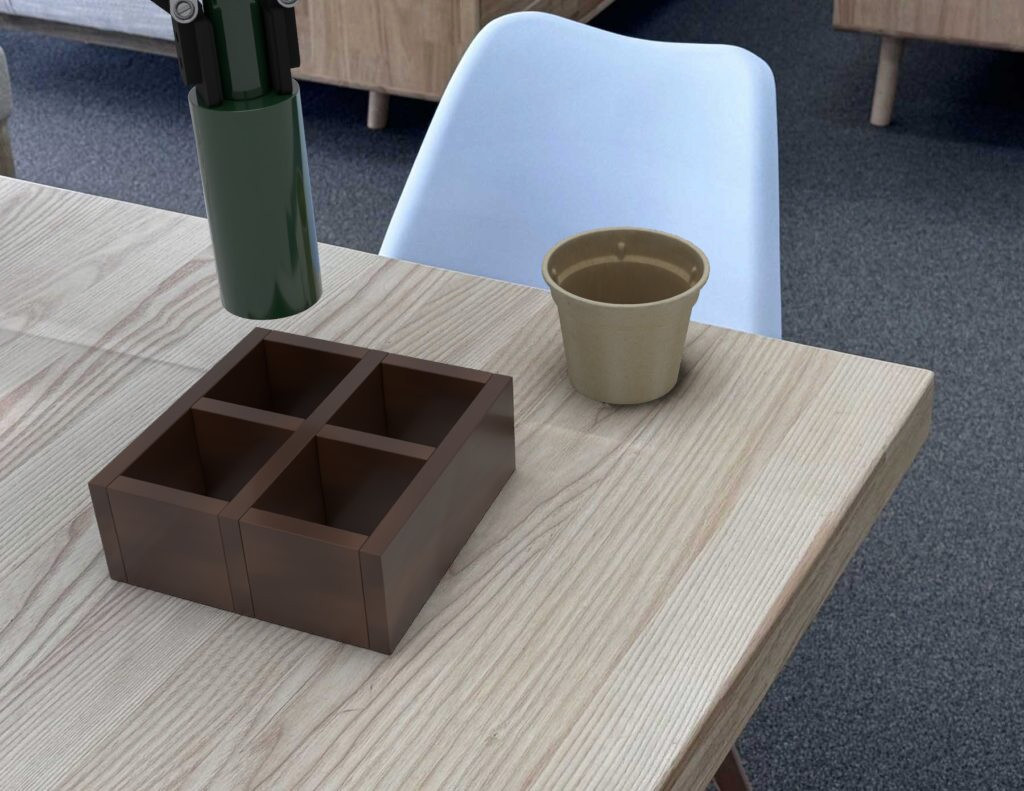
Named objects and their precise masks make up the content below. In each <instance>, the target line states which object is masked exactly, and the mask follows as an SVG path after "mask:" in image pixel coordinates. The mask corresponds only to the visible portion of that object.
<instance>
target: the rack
mask: <svg viewBox="0 0 1024 791" xmlns="http://www.w3.org/2000/svg"><path fill="white" fill-rule="evenodd" d="M515 434H516V433H515V402H514V376H512V375H506V374H502V373H496V372H495V373H494V372H491V371H486V370H481V369H475V368H470V367H465V366H461V365H455V364H450V363H445V362H440V361H435V360H431V359H430V360H429V359H425V358H420V357H414V356H409V355H404V354H399V353H395V352H394V353H393V352H389V351H384V350H381V349H374V348H368V347H363V346H358V345H353V344H348V343H342V342H338V341H332V340H327V339H322V338H317V337H312V336H308V335H302V334H296V333H291V332H286V331H281V330H276V329H271V328H265V327H261V326H255V327H254V328H253V329H252V330H251V331H249V333H247V335H245V336H244V337H243V338H242V339H240V341H239V342H238V343H237V344H235V345H234V346H233V347H232V349H230V350H229V351H228V352H227V353H226V354H224V356H223V357H222V358H221V359H219V361H217V362H216V363H215V364H214V365H213V366H212V367H210V368H209V370H207V371H206V372H205V374H203V375H202V376H201V377H200V378H199V379H198V380H197V381H196V382H195V383H193V384H192V385H191V386H190V387H189V388H188V389H187V390H186V391H184V393H183V394H181V395H180V397H178V398H177V400H175V401H174V402H173V403H172V404H171V405H170V406H169V407H168V408H166V410H164V411H163V412H162V413H161V414H160V415H159V416H157V418H156V419H155V420H154V421H153V422H152V423H150V425H148V426H147V427H146V428H145V429H144V430H143V431H142V432H141V433H140V434H139V435H137V436H136V438H134V439H133V440H132V441H131V442H130V443H129V444H128V445H127V446H126V447H125V448H124V449H122V450H121V451H120V452H119V453H118V454H117V455H116V456H115V457H114V458H113V459H112V460H110V461H109V462H108V463H107V465H105V466H104V467H103V468H102V469H101V470H100V471H99V472H98V473H97V474H95V476H93V477H92V478H91V479H90V480H89V481H88V482H87V488H88V490H89V495H90V499H91V503H92V504H91V505H92V509H93V511H94V512H93V513H94V516H95V521H96V525H97V528H98V532H99V537H100V540H101V545H102V549H103V553H104V558H105V561H106V566H107V570H108V574H109V578H110V579H113V580H115V581H119V582H123V583H128V584H131V585H134V586H137V587H141V588H145V589H147V590H152V591H155V592H159V593H163V594H167V595H171V596H174V597H178V598H181V599H185V600H189V601H193V602H196V603H200V604H202V605H207V606H211V607H214V608H218V609H221V610H225V611H229V612H233V613H235V614H240V615H243V616H247V617H250V618H254V619H255V618H256V619H258V620H262V621H266V622H270V623H273V624H277V625H280V626H284V627H288V628H291V629H295V630H298V631H302V632H305V633H310V634H312V635H317V636H321V637H324V638H328V639H332V640H334V641H339V642H342V643H346V644H350V645H354V646H357V647H361V648H364V649H370V650H372V651H375V652H379V653H383V654H386V655H392V653H393V651H394V650H395V648H396V647H397V645H398V644H399V642H400V641H401V640H402V638H403V636H404V635H405V633H406V632H407V630H408V629H409V628H410V626H411V624H412V623H413V622H414V620H415V619H416V617H417V616H418V614H419V613H420V611H421V610H422V608H423V607H424V605H425V604H426V602H427V600H429V597H430V596H431V595H432V593H433V592H434V590H435V589H436V587H437V586H438V585H439V583H440V581H441V580H442V579H443V577H444V575H445V574H446V572H447V571H448V570H449V568H450V566H451V565H452V563H453V562H454V561H455V559H456V558H457V556H458V554H459V553H460V552H461V550H462V549H463V547H464V545H466V543H467V541H468V540H469V538H470V537H471V535H472V534H473V532H474V530H475V529H476V528H477V527H478V525H479V523H480V522H481V520H482V519H483V517H484V516H485V514H486V513H487V511H488V510H489V508H490V507H491V506H492V504H493V503H494V501H495V499H496V498H497V496H498V495H499V493H500V492H501V490H502V489H503V487H504V486H505V485H506V483H507V481H508V480H509V478H510V477H511V475H512V474H513V473H514V471H515V470H516V467H517V466H516V465H517V463H516V437H515V436H516V435H515Z"/></svg>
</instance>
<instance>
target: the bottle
mask: <svg viewBox="0 0 1024 791" xmlns="http://www.w3.org/2000/svg"><path fill="white" fill-rule="evenodd" d="M201 4H202V7H203V12H204V14H205V15H206V16H207V17H208V18H209V20H210V21H211V23H212V27H213V32H214V39H215V46H216V53H217V60H218V67H219V73H220V80H221V87H222V94H223V102H220V105H218V106H212V107H208V106H207V104H206V103H205V101H204V100H203V98H202V97H201V95H200V94H199V92H198V91H197V89H196V87H195V86H193V87H192V88H191V89H190V91H189V92H188V94H187V101H188V108H189V113H190V120H191V126H192V133H193V138H194V139H193V140H194V144H195V150H196V158H197V162H198V169H199V174H200V180H201V181H200V182H201V187H202V193H203V200H204V206H205V211H206V212H205V213H206V218H207V224H208V230H209V237H210V243H211V248H212V254H213V255H212V256H213V261H214V267H215V273H216V279H217V285H218V291H219V292H218V293H219V299H220V303H221V306H222V307H223V309H225V310H226V312H228V313H229V314H231V315H233V316H235V317H238V318H241V319H245V320H253V321H273V320H280V319H281V320H282V319H285V318H290V317H292V316H296V315H299V314H301V313H303V312H306V311H307V310H309V309H311V308H312V307H313V306H314V305H316V304H317V303H318V302H319V301H320V299H321V298H322V296H323V292H324V288H323V287H324V286H323V279H322V269H321V262H320V253H319V244H318V236H317V235H318V234H317V227H316V226H317V225H316V219H315V218H316V217H315V210H314V201H313V193H312V192H313V191H312V183H311V175H310V165H309V157H308V149H307V141H306V131H305V124H304V123H305V122H304V115H303V106H302V98H301V88H300V85H299V83H298V81H297V80H295V78H293V77H292V85H293V92H292V93H288V94H281V93H280V92H276V91H275V90H274V88H273V87H272V86H271V80H270V72H269V64H268V56H267V49H266V41H265V33H264V25H263V17H262V9H261V1H260V0H201Z"/></svg>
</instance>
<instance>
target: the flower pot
mask: <svg viewBox="0 0 1024 791" xmlns="http://www.w3.org/2000/svg"><path fill="white" fill-rule="evenodd" d="M709 260H710V259H709V258H708V256H707V255H706V253H705V252H704V251H703V250H702V249H701V248H700V247H699V246H698V245H695V244H694V243H693V242H692V241H690V240H688V239H686V238H683V237H681V236H679V235H677V234H673V233H670V232H666V231H663V230H657V229H652V228H646V227H638V226H609V227H600V228H599V227H598V228H594V229H590V230H583V231H581V232H578V233H575V234H572V235H569V236H567V237H565V238H563V239H562V240H560V241H558V242H556V243H555V244H554V245H553V246H552V247H551V248H550V249H549V250H548V251H547V252H546V253H545V254H544V256H543V258H542V261H541V276H542V279H543V281H544V283H545V284H546V285H547V286H548V287H549V290H550V296H551V298H552V300H553V302H554V304H555V305H556V308H557V313H558V319H559V324H560V330H561V331H560V332H561V336H562V343H563V348H564V354H565V362H566V367H567V374H568V375H567V376H568V380H569V383H570V385H571V386H572V387H573V388H574V389H575V390H576V391H577V392H579V393H580V394H581V395H583V396H585V397H587V398H589V399H592V400H595V401H596V402H597V401H598V402H602V403H604V404H605V403H607V404H611V405H636V404H643V403H648V402H652V401H654V400H657V399H659V398H661V397H664V396H666V395H667V394H668V393H669V392H670V391H671V390H673V389H674V387H675V386H676V384H677V382H678V378H679V373H680V367H681V362H682V358H683V354H684V349H685V344H686V338H687V334H688V331H689V325H690V322H691V316H692V312H693V308H694V307H695V305H696V304H697V302H698V300H699V297H700V293H701V290H702V289H703V288H704V287H705V285H706V284H707V283H708V280H709V277H710V273H711V272H710V271H711V265H710V261H709Z"/></svg>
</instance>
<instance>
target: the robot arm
mask: <svg viewBox="0 0 1024 791" xmlns="http://www.w3.org/2000/svg"><path fill="white" fill-rule="evenodd" d="M260 1H261V9H262V17H263V25H264V33H265V41H266V49H267V56H268V64H269V72H270V80H271V86H272V87H273V88H274V90H275V91H276V92H280V93H281V94H288V93H292V92H293V85H292V78H293V77H292V69H297V68H298V69H299V68H300V67H301V54H300V53H301V52H300V43H299V36H298V35H299V34H298V26H297V17H296V10H295V7H296V6H297V5H298V4H299V3H301V0H260ZM150 2H152V4H154V5H156V6H157V7H159V8H160V9H162V10H163V11H164V12H166V13H167V14H168V15H170V19H171V26H172V32H173V38H174V44H175V49H176V57H177V62H178V69H179V73H180V77H181V80H182V82H183V84H184V86H185V87H190V86H194V87H196V89H197V91H198V92H199V94H200V95H201V97H202V98H203V100H204V101H205V103H206V104H207V106H208V107H212V106H218V105H220V102H223V94H222V87H221V80H220V73H219V67H218V60H217V53H216V46H215V39H214V32H213V27H212V23H211V21H210V20H209V18H208V17H207V16H206V15H205V14H204V12H203V5H202V2H201V1H200V0H150Z"/></svg>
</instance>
